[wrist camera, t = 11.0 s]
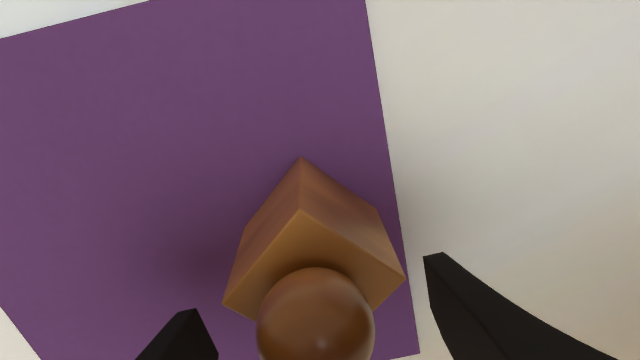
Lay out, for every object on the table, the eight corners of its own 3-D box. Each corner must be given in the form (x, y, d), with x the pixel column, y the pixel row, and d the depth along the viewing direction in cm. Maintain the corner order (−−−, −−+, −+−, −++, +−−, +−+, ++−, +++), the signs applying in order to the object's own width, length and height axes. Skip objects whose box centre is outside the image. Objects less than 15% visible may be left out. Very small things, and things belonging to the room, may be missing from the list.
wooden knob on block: (377, 209, 16) (445, 365, 8) (319, 272, 17) (332, 459, 10) (300, 154, 15) (297, 279, 7) (243, 227, 16) (190, 399, 8)
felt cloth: (418, 349, 20) (420, 353, 20) (90, 416, 21) (87, 421, 20) (355, -51, 12) (356, -53, 12) (-162, 81, 13) (-172, 82, 13)
